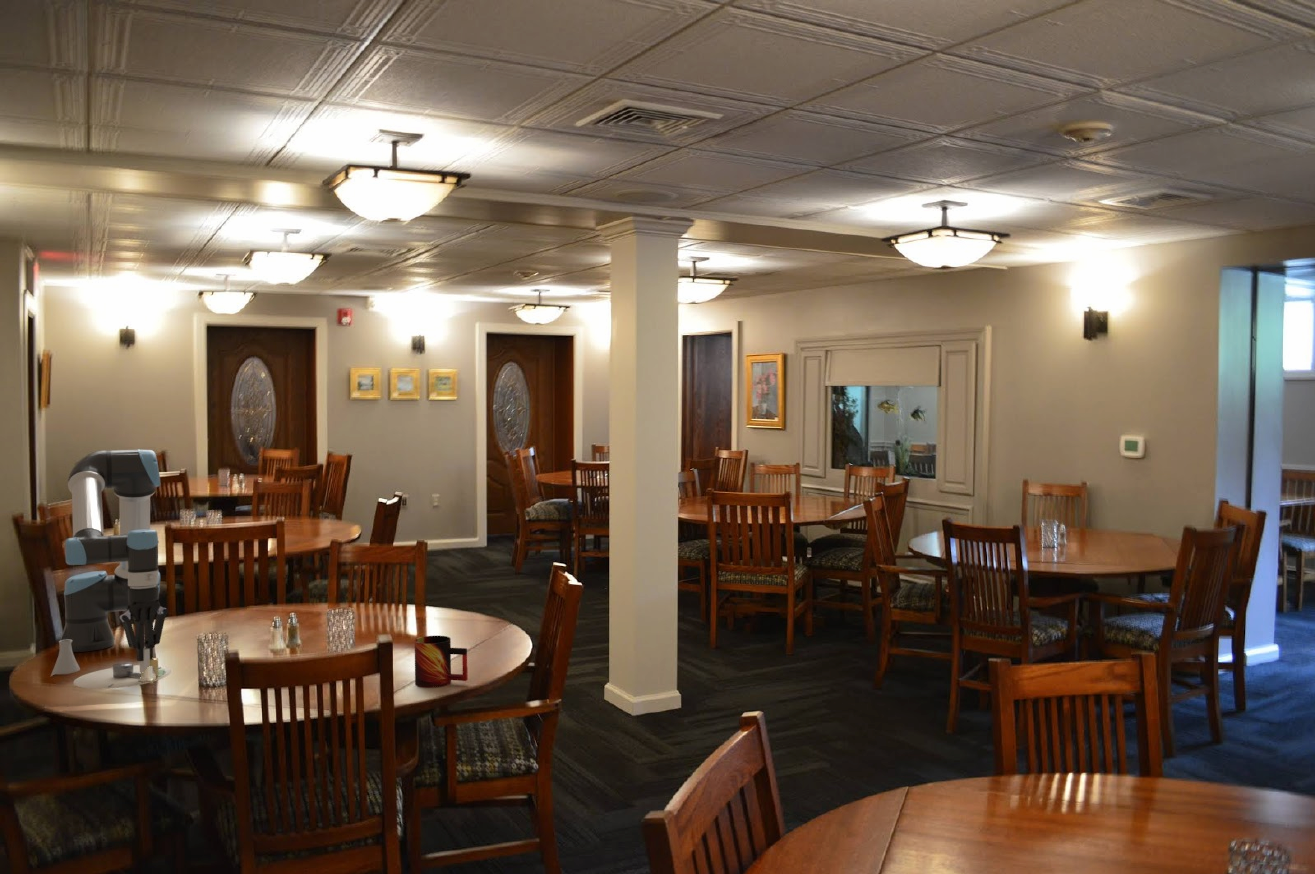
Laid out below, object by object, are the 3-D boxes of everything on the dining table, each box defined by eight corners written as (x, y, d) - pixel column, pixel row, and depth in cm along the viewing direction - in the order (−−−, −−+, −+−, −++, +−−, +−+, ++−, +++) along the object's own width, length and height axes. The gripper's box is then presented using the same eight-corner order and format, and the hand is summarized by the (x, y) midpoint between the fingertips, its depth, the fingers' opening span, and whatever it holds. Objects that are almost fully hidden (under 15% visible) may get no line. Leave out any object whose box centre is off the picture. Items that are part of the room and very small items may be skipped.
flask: (67, 679, 280) (66, 644, 279) (45, 678, 281) (44, 642, 281) (86, 672, 287) (86, 638, 286) (65, 671, 288) (64, 636, 288)
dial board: (93, 671, 288) (93, 666, 288) (182, 667, 292) (182, 662, 292) (58, 695, 264) (58, 690, 264) (155, 690, 268) (155, 685, 268)
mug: (467, 685, 273) (467, 641, 272) (415, 689, 269) (415, 644, 269) (465, 675, 282) (464, 633, 282) (414, 679, 278) (414, 636, 278)
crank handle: (108, 677, 276) (108, 658, 276) (122, 672, 281) (122, 653, 281) (150, 680, 273) (150, 661, 273) (163, 675, 278) (163, 656, 278)
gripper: (126, 591, 267) (128, 679, 267) (173, 584, 277) (175, 668, 278) (112, 588, 271) (113, 675, 271) (159, 581, 282) (160, 665, 282)
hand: (144, 671), depth 275 cm, fingers closed
